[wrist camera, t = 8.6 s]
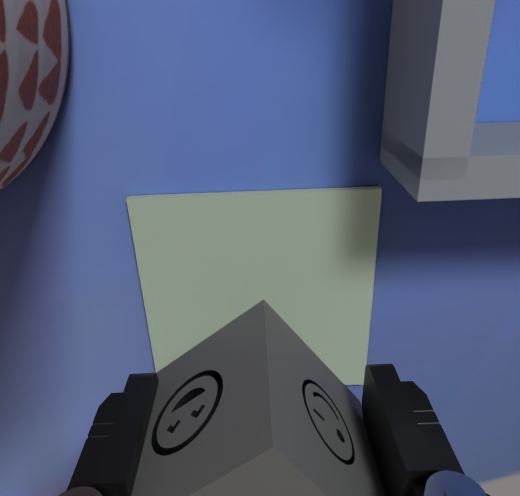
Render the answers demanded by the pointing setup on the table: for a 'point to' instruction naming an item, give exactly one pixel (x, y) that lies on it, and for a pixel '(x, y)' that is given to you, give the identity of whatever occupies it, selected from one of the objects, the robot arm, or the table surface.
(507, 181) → the pen walls
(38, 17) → the planter
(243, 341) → the dice cube
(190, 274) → the mat
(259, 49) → the table surface
